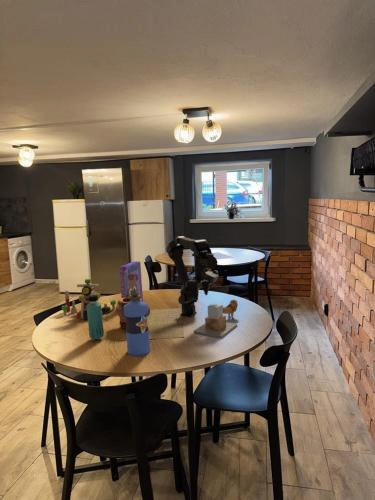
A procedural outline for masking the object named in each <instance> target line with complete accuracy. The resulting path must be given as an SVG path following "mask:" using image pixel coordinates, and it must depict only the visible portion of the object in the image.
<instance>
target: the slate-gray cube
mask: <svg viewBox="0 0 375 500" xmlns="http://www.w3.org/2000/svg"><path fill="white" fill-rule="evenodd" d="M223 307H224V306H223V304H221V303H211V304H209V305H207V316H208V317H211V318H217V319H218V318H219V317H221V316H222V315H224V314H223Z"/></svg>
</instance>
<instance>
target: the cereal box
mask: <svg viewBox="0 0 375 500" xmlns="http://www.w3.org/2000/svg"><path fill="white" fill-rule="evenodd" d="M118 268H119V269H118V271H119V282H120V283H119V284H120V294H121V295H120V296H121V299H122V298H128V297H130V296H131V295H130V293H131V292H132V291H133V290H137V291H138V292H139V293H140V294H139V295H140V296H141V299H142V301H143V300H144V297H143V281H142V267H141V261H131V262H129V263H127V264H124V265H121V266H119V267H118Z"/></svg>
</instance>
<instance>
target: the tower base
mask: <svg viewBox="0 0 375 500" xmlns="http://www.w3.org/2000/svg"><path fill="white" fill-rule="evenodd" d="M237 327H238V323H234V322H228V321H227V314H223V315H222V316H221V317H219V318H218V319H217V318H211V317H208V315H206V317H204V324H202V325H200V326H199V327H197V328H196V329H194V330H193V333H194V334H197V335H203V336H208V337H212V338H213V337H214V338H219V339H223V338H224V337H226V336H227V335H228V334H229V333H231V331H233V330H234V329H235V328H237Z"/></svg>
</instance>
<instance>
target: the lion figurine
mask: <svg viewBox="0 0 375 500" xmlns="http://www.w3.org/2000/svg"><path fill="white" fill-rule="evenodd" d="M238 306H239V303H238V301H237V300H236V299H232V300H230V301H229V303H228V304H227V305H226V306H223V315H227V318H229V319H232V320H235V317H234V313H235V312H236V311H237V310H238Z"/></svg>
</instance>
